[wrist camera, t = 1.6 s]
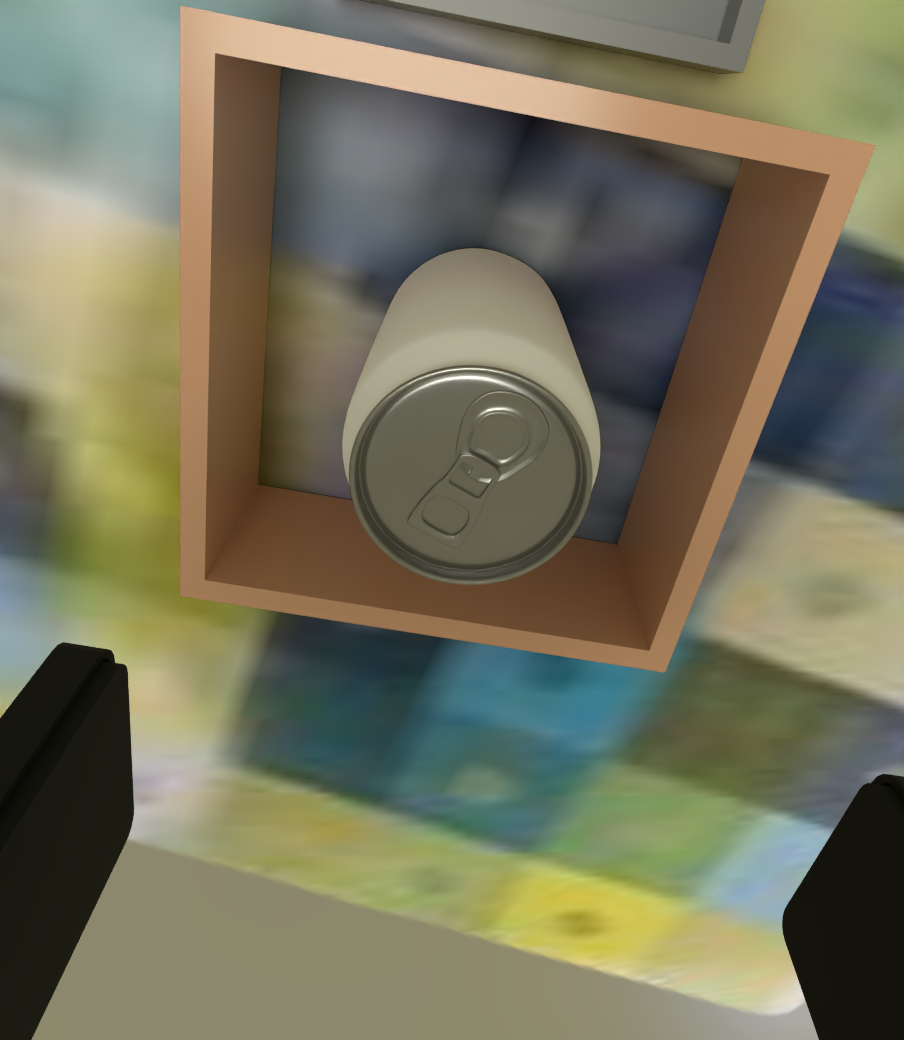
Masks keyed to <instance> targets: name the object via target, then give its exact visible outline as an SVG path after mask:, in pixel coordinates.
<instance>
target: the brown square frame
mask: <svg viewBox="0 0 904 1040" xmlns="http://www.w3.org/2000/svg"><path fill="white" fill-rule="evenodd" d="M281 66H283V67H288V68H293V69H298V70H303V71H309V72H314V73H319V74H324V75H329V76H334V77H339V78H344V79H349V80H354V81H359V82H364V83H369V84H374V85H379V86H384V87H389V88H394V89H399V90H405V91H410V92H415V93H420V94H425V95H430V96H435V97H440V98H445V99H450V100H455V101H460V102H465V103H470V104H475V105H480V106H485V107H490V108H495V109H501V110H506V111H511V112H516V113H521V114H526V115H531V116H536V117H541V118H546V119H551V120H556V121H561V122H566V123H571V124H576V125H581V126H586V127H592V128H597V129H602V130H607V131H612V132H617V133H622V134H627V135H632V136H637V137H642V138H647V139H652V140H657V141H662V142H667V143H672V144H677V145H682V146H688V147H693V148H698V149H703V150H708V151H713V152H718V153H723V154H728V155H733V156H738V157H743V160H742V163H741V166H740V169H739V172H738V175H737V178H736V181H735V184H734V187H733V190H732V193H731V196H730V200H729V203H728V206H727V209H726V212H725V215H724V218H723V221H722V224H721V227H720V230H719V233H718V236H717V239H716V243H715V246H714V249H713V252H712V255H711V258H710V261H709V264H708V267H707V270H706V273H705V276H704V279H703V282H702V286H701V289H700V292H699V295H698V298H697V301H696V304H695V307H694V310H693V313H692V316H691V319H690V322H689V325H688V329H687V332H686V335H685V338H684V341H683V344H682V347H681V350H680V353H679V356H678V359H677V362H676V365H675V368H674V372H673V375H672V378H671V381H670V384H669V387H668V390H667V393H666V396H665V399H664V402H663V405H662V408H661V411H660V415H659V418H658V421H657V424H656V427H655V430H654V433H653V436H652V439H651V442H650V445H649V448H648V451H647V454H646V458H645V461H644V464H643V467H642V470H641V473H640V476H639V479H638V482H637V485H636V488H635V491H634V494H633V497H632V501H631V504H630V507H629V510H628V513H627V516H626V519H625V522H624V525H623V528H622V531H621V534H620V537H619V540H618V544H612V543H606V542H600V541H594V540H588V539H582V538H576V537H571V538H570V540H569V541H568V542H567V543H566V544H565V546H564V547H563V548H562V549H561V550H560V551H559V552H558V553H556V554H555V555H554V556H553V557H552V558H550V559H549V560H548V561H546V562H545V563H543V564H542V565H540V566H539V567H537V568H535V569H533V570H532V571H530V572H528V573H525V574H523V575H521V576H518V577H515V578H512V579H509V580H506V581H502V582H497V583H491V584H483V585H459V584H451V583H445V582H440V581H436V580H433V579H430V578H427V577H424V576H421V575H419V574H417V573H414V572H412V571H410V570H409V569H407V568H405V567H403V566H402V565H400V564H399V563H397V562H396V561H394V560H393V559H392V558H390V557H389V556H388V555H387V554H386V553H384V552H383V551H382V550H381V549H380V548H379V547H378V546H377V545H376V544H375V542H374V541H373V540H372V539H371V537H370V536H369V535H368V533H367V532H366V530H365V529H364V527H363V526H362V524H361V522H360V520H359V518H358V516H357V513H356V511H355V508H354V505H353V502H352V500H348V499H342V498H336V497H330V496H324V495H318V494H312V493H306V492H300V491H294V490H288V489H282V488H276V487H270V486H264V485H258V474H259V456H260V438H261V420H262V403H263V385H264V367H265V349H266V331H267V314H268V296H269V278H270V260H271V242H272V224H273V207H274V189H275V171H276V153H277V135H278V118H279V100H280V82H281ZM874 148H875V145H872V144H867V143H862V142H857V141H852V140H847V139H842V138H837V137H832V136H827V135H822V134H817V133H812V132H807V131H802V130H797V129H792V128H787V127H782V126H777V125H772V124H767V123H762V122H757V121H752V120H747V119H743V118H738V117H733V116H728V115H723V114H718V113H713V112H708V111H703V110H698V109H693V108H688V107H683V106H678V105H673V104H668V103H663V102H658V101H653V100H648V99H643V98H638V97H633V96H628V95H623V94H618V93H613V92H608V91H603V90H598V89H593V88H588V87H583V86H578V85H573V84H568V83H563V82H558V81H553V80H548V79H543V78H538V77H533V76H528V75H523V74H518V73H513V72H509V71H504V70H499V69H494V68H489V67H484V66H479V65H474V64H469V63H464V62H459V61H454V60H449V59H444V58H439V57H434V56H429V55H424V54H419V53H414V52H409V51H404V50H399V49H394V48H389V47H384V46H379V45H374V44H369V43H364V42H359V41H354V40H349V39H344V38H339V37H334V36H329V35H324V34H319V33H314V32H309V31H304V30H299V29H294V28H289V27H284V26H279V25H275V24H270V23H265V22H260V21H255V20H250V19H245V18H240V17H235V16H230V15H225V14H220V13H215V12H210V11H205V10H200V9H195V8H190V7H185V6H180V596H183V597H189V598H195V599H202V600H208V601H214V602H221V603H227V604H233V605H240V606H246V607H252V608H259V609H265V610H271V611H278V612H284V613H290V614H297V615H303V616H309V617H316V618H322V619H328V620H335V621H341V622H348V623H354V624H360V625H367V626H373V627H379V628H386V629H392V630H398V631H405V632H411V633H417V634H424V635H430V636H436V637H443V638H449V639H455V640H462V641H468V642H474V643H481V644H487V645H493V646H500V647H506V648H513V649H519V650H525V651H532V652H538V653H544V654H551V655H557V656H563V657H570V658H576V659H582V660H589V661H595V662H601V663H608V664H614V665H620V666H627V667H633V668H639V669H646V670H652V671H658V672H666V669H667V667H668V664H669V662H670V659H671V657H672V654H673V652H674V649H675V647H676V644H677V642H678V639H679V637H680V634H681V632H682V629H683V627H684V624H685V622H686V619H687V617H688V614H689V611H690V609H691V606H692V604H693V601H694V599H695V596H696V594H697V591H698V589H699V586H700V584H701V581H702V579H703V576H704V574H705V571H706V569H707V566H708V564H709V561H710V559H711V556H712V554H713V551H714V549H715V546H716V544H717V541H718V539H719V536H720V534H721V531H722V529H723V526H724V524H725V521H726V519H727V516H728V514H729V511H730V509H731V506H732V504H733V501H734V499H735V496H736V494H737V491H738V489H739V486H740V484H741V481H742V479H743V476H744V474H745V471H746V469H747V466H748V464H749V461H750V459H751V456H752V454H753V451H754V449H755V446H756V444H757V441H758V439H759V436H760V434H761V431H762V429H763V426H764V424H765V421H766V419H767V416H768V414H769V411H770V409H771V406H772V404H773V401H774V399H775V396H776V394H777V391H778V389H779V386H780V384H781V381H782V378H783V376H784V373H785V371H786V368H787V366H788V363H789V361H790V358H791V356H792V353H793V351H794V348H795V346H796V343H797V341H798V338H799V336H800V333H801V331H802V328H803V326H804V323H805V321H806V318H807V316H808V313H809V311H810V308H811V306H812V303H813V301H814V298H815V296H816V293H817V291H818V288H819V286H820V283H821V281H822V278H823V276H824V273H825V271H826V268H827V266H828V263H829V261H830V258H831V256H832V253H833V251H834V248H835V246H836V243H837V241H838V238H839V236H840V233H841V231H842V228H843V226H844V223H845V221H846V218H847V216H848V213H849V211H850V208H851V206H852V203H853V201H854V198H855V196H856V193H857V191H858V188H859V186H860V183H861V181H862V178H863V176H864V173H865V171H866V168H867V166H868V163H869V161H870V158H871V156H872V153H873V150H874Z"/></svg>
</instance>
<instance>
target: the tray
mask: <svg viewBox="0 0 904 1040" xmlns="http://www.w3.org/2000/svg"><path fill="white" fill-rule="evenodd" d="M361 1H366V2H370V3H375V4H380V5H385V6H390V7H395V8H400V9H405V10H410V11H415V12H419V13H424V14H429V15H434V16H439V17H444V18H449V19H454V20H459V21H464V22H469V23H473V24H478V25H483V26H488V27H493V28H498V29H503V30H508V31H513V32H518V33H522V34H527V35H532V36H537V37H542V38H547V39H552V40H557V41H562V42H567V43H572V44H576V45H581V46H586V47H591V48H596V49H601V50H606V51H611V52H616V53H621V54H625V55H630V56H635V57H640V58H645V59H650V60H655V61H660V62H665V63H670V64H674V65H679V66H684V67H689V68H694V69H699V70H704V71H709V72H714V73H719V74H728V73H743V70H744V67H745V64H746V61H747V57H748V54H749V51H750V48H751V45H752V41H753V38H754V35H755V32H756V28H757V25H758V22H759V19H760V15H761V12H762V9H763V6H764V3H765V0H361Z"/></svg>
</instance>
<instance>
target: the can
mask: <svg viewBox="0 0 904 1040" xmlns="http://www.w3.org/2000/svg"><path fill="white" fill-rule="evenodd" d="M342 451H343V462H344V468H345V473H346V477H347V480H348V483H349V487H350V493H351V498H352V502H353V505H354V508H355V511H356V513H357V516H358V518H359V520H360V522H361V524H362V526H363V527H364V529H365V530H366V532H367V533H368V535H369V536H370V537H371V539H372V540H373V541H374V542H375V544H376V545H377V546H378V547H379V548H380V549H381V550H382V551H383V552H384V553H386V554H387V555H388V556H389V557H390V558H392V559H393V560H394V561H396V562H397V563H399V564H400V565H402V566H403V567H405V568H407V569H409V570H410V571H412V572H414V573H417V574H419V575H421V576H424V577H427V578H430V579H433V580H436V581H440V582H445V583H451V584H459V585H483V584H491V583H497V582H502V581H506V580H509V579H512V578H515V577H518V576H521V575H523V574H525V573H528V572H530V571H532V570H533V569H535V568H537V567H539V566H540V565H542V564H543V563H545V562H546V561H548V560H549V559H550V558H552V557H553V556H554V555H555V554H556V553H558V552H559V551H560V550H561V549H562V548H563V547H564V546H565V544H566V543H567V542H568V541H569V540H570V538H571V537H572V536H573V534H574V533H575V532H576V530H577V528H578V527H579V525H580V523H581V521H582V519H583V517H584V515H585V512H586V510H587V507H588V503H589V500H590V495H591V490H592V488H593V485H594V483H595V479H596V476H597V472H598V467H599V461H600V432H599V425H598V420H597V416H596V412H595V408H594V404H593V401H592V398H591V395H590V392H589V389H588V386H587V383H586V380H585V378H584V375H583V372H582V369H581V366H580V363H579V361H578V358H577V355H576V352H575V349H574V347H573V344H572V341H571V338H570V336H569V333H568V330H567V328H566V325H565V322H564V320H563V317H562V314H561V312H560V309H559V307H558V305H557V302H556V300H555V298H554V296H553V294H552V292H551V291H550V289H549V287H548V286H547V284H546V283H545V281H544V280H543V279H542V278H541V277H540V276H539V275H538V274H537V273H536V272H535V271H534V270H533V269H531V268H530V267H529V266H527V265H526V264H524V263H523V262H521V261H519V260H517V259H515V258H513V257H510V256H508V255H505V254H503V253H500V252H496V251H493V250H488V249H481V248H468V249H459V250H454V251H450V252H447V253H444V254H441V255H439V256H437V257H434V258H433V259H431V260H429V261H427V262H426V263H424V264H423V265H421V266H420V267H419V268H417V269H416V270H415V271H414V272H413V273H412V274H411V275H410V276H409V277H408V278H407V279H406V280H405V281H404V283H403V284H402V285H401V287H400V288H399V289H398V291H397V293H396V294H395V296H394V298H393V300H392V302H391V304H390V306H389V308H388V311H387V313H386V315H385V318H384V320H383V322H382V325H381V327H380V329H379V332H378V334H377V336H376V339H375V341H374V344H373V346H372V349H371V351H370V353H369V356H368V358H367V361H366V363H365V366H364V368H363V371H362V373H361V376H360V378H359V381H358V383H357V386H356V388H355V391H354V393H353V396H352V399H351V402H350V405H349V408H348V411H347V415H346V419H345V424H344V431H343V442H342Z"/></svg>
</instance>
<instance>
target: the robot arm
mask: <svg viewBox="0 0 904 1040" xmlns="http://www.w3.org/2000/svg"><path fill="white" fill-rule="evenodd" d="M133 816H134V800H133V778H132V756H131V734H130V712H129V690H128V671H127V667H126V665H124V664H118V663H115V659H114V654H113V653H112V651H111V650H108V649H101V648H95V647H89V646H83V645H76V644H70V643H64V642H63V643H61V644H59V645H57V646H56V647H55V648H54V649H53V651H52V652H51V653H50V654H49V656H48V657H47V658H46V660H45V661H44V662H43V664H42V665H41V666H40V667H39V669H38V670H37V671H36V673H35V674H34V675H33V676H32V678H31V679H30V680H29V682H28V683H27V684H26V686H25V687H24V688H23V689H22V691H21V692H20V693H19V695H18V696H17V697H16V699H15V700H14V701H13V702H12V704H11V705H10V706H9V708H8V709H7V710H6V712H5V713H4V714H3V715H2V717H1V718H0V1040H31V1039H32V1037H33V1035H34V1033H35V1031H36V1029H37V1027H38V1025H39V1022H40V1020H41V1018H42V1016H43V1014H44V1012H45V1010H46V1007H47V1006H48V1003H49V1002H50V1000H51V997H52V995H53V993H54V991H55V989H56V987H57V985H58V983H59V981H60V979H61V977H62V974H63V972H64V970H65V968H66V966H67V964H68V962H69V960H70V958H71V956H72V953H73V951H74V949H75V947H76V945H77V943H78V941H79V939H80V937H81V935H82V932H83V931H84V929H85V926H86V924H87V922H88V920H89V918H90V916H91V914H92V911H93V910H94V908H95V906H96V903H97V901H98V899H99V897H100V895H101V893H102V891H103V889H104V887H105V885H106V882H107V880H108V878H109V876H110V874H111V872H112V870H113V868H114V866H115V864H116V862H117V860H118V857H119V855H120V853H121V851H122V849H123V847H124V845H125V843H126V841H127V838H128V836H129V833H130V830H131V826H132V822H133ZM782 927H783V935H784V939H785V942H786V945H787V948H788V951H789V954H790V957H791V960H792V963H793V965H794V968H795V971H796V974H797V977H798V980H799V983H800V986H801V989H802V991H803V994H804V997H805V1000H806V1003H807V1006H808V1009H809V1012H810V1014H811V1018H812V1020H813V1023H814V1026H815V1029H816V1032H817V1035H818V1038H819V1040H904V777H901V776H895V775H889V774H882V775H880V776H877V777H876V778H875V779H874V781H873V782H872V783H867V784H865V785H863V786H862V787H861V788H860V790H859V791H858V793H857V794H856V796H855V798H854V799H853V801H852V802H851V804H850V806H849V807H848V809H847V810H846V812H845V814H844V815H843V817H842V818H841V820H840V822H839V823H838V825H837V826H836V828H835V830H834V831H833V833H832V834H831V836H830V838H829V839H828V841H827V842H826V844H825V846H824V847H823V849H822V850H821V852H820V854H819V855H818V857H817V858H816V860H815V862H814V863H813V865H812V866H811V868H810V870H809V871H808V873H807V874H806V876H805V878H804V879H803V881H802V882H801V884H800V886H799V887H798V889H797V890H796V892H795V893H794V895H793V897H792V898H791V900H790V901H789V903H788V905H787V906H786V908H785V911H784V914H783V922H782Z"/></svg>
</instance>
